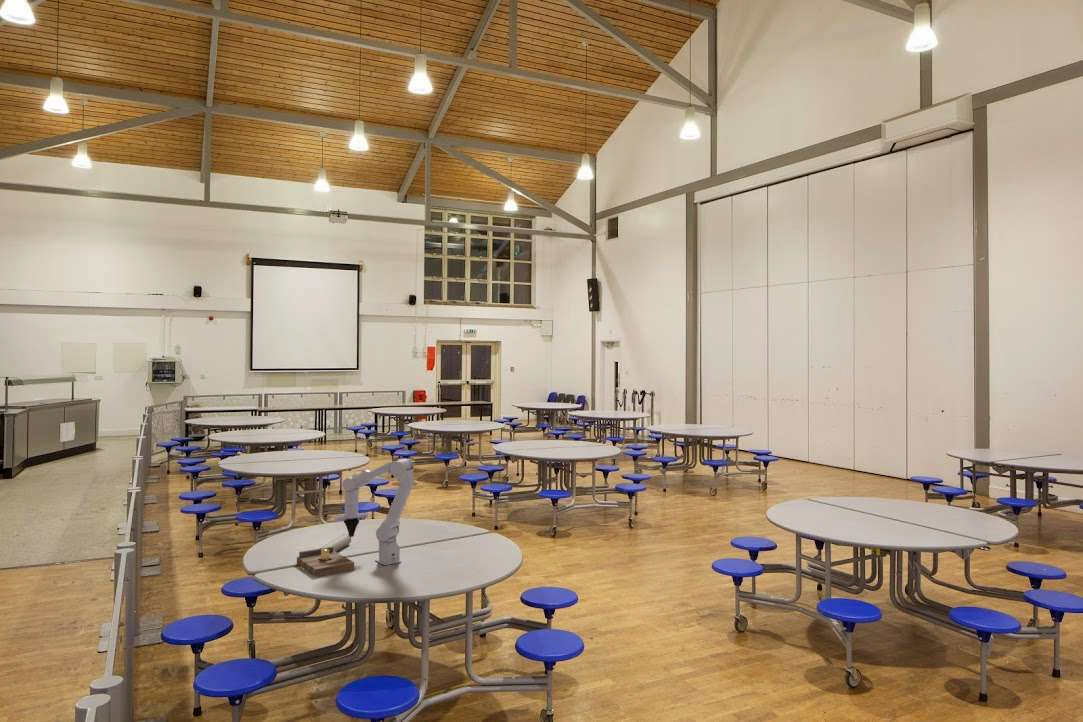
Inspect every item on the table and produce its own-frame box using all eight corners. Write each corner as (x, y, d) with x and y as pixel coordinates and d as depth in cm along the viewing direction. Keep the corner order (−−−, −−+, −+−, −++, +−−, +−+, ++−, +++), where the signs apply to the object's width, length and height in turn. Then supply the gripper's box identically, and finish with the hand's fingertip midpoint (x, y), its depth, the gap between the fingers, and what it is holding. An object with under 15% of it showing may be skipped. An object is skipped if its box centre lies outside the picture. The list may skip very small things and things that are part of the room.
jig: (354, 569, 272) (354, 557, 272) (315, 577, 262) (315, 564, 262) (334, 557, 289) (334, 546, 289) (296, 564, 279) (296, 552, 279)
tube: (327, 550, 287) (353, 536, 311) (316, 546, 287) (342, 532, 312) (324, 562, 287) (349, 546, 311) (313, 557, 288) (339, 542, 312)
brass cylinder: (330, 567, 275) (330, 550, 276) (322, 568, 274) (322, 551, 274) (327, 565, 278) (327, 548, 278) (319, 566, 276) (320, 549, 276)
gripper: (363, 501, 297) (363, 532, 297) (331, 505, 288) (331, 537, 288) (370, 503, 292) (370, 535, 291) (338, 508, 282) (338, 540, 282)
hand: (351, 536), depth 289 cm, fingers closed
